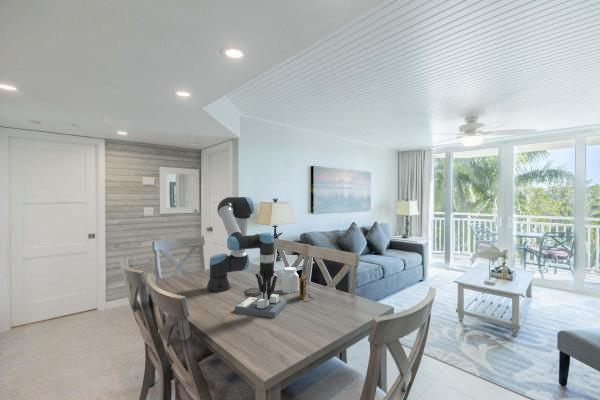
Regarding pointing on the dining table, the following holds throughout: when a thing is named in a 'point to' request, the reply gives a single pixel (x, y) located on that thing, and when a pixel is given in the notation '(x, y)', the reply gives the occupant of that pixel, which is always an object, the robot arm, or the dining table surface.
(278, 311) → the switch panel
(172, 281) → the dining table surface
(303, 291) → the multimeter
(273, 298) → the far slider
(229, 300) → the dining table surface
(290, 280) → the jar
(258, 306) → the near slider
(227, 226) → the robot arm
